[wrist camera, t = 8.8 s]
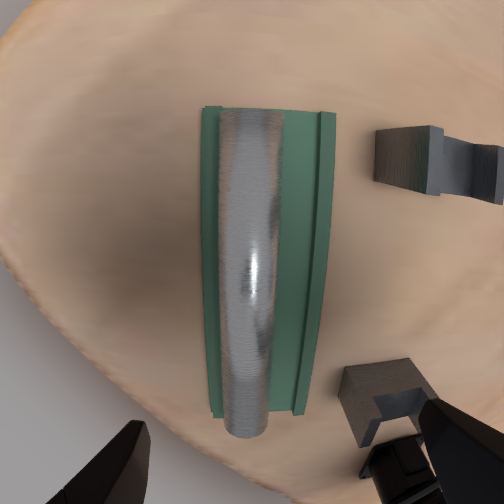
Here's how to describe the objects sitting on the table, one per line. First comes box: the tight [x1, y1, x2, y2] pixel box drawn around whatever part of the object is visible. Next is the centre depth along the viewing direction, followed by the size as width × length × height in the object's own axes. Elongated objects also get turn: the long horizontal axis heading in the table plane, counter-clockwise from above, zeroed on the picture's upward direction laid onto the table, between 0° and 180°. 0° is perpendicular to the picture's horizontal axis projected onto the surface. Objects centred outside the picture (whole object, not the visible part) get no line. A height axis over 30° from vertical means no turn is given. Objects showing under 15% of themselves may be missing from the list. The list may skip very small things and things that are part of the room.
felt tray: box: [201, 106, 336, 418], centre depth 18 cm, size 20×7×1 cm, turn 179°
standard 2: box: [338, 358, 440, 448], centre depth 19 cm, size 3×6×6 cm, turn 89°
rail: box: [218, 109, 285, 438], centre depth 16 cm, size 19×3×3 cm
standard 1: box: [374, 125, 504, 205], centre depth 14 cm, size 3×6×6 cm, turn 89°
